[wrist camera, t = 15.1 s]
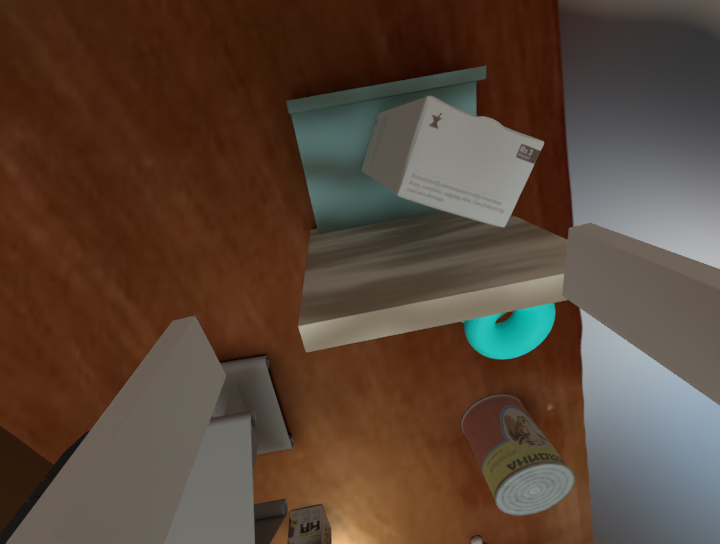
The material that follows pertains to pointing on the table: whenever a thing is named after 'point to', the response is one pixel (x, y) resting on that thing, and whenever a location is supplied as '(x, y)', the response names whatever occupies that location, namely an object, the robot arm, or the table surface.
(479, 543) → the woman figurine
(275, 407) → the folded metal stand
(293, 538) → the coffee box
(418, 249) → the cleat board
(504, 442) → the canned food
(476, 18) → the table surface
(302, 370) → the table surface
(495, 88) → the table surface
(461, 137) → the skincare box
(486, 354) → the donuts
